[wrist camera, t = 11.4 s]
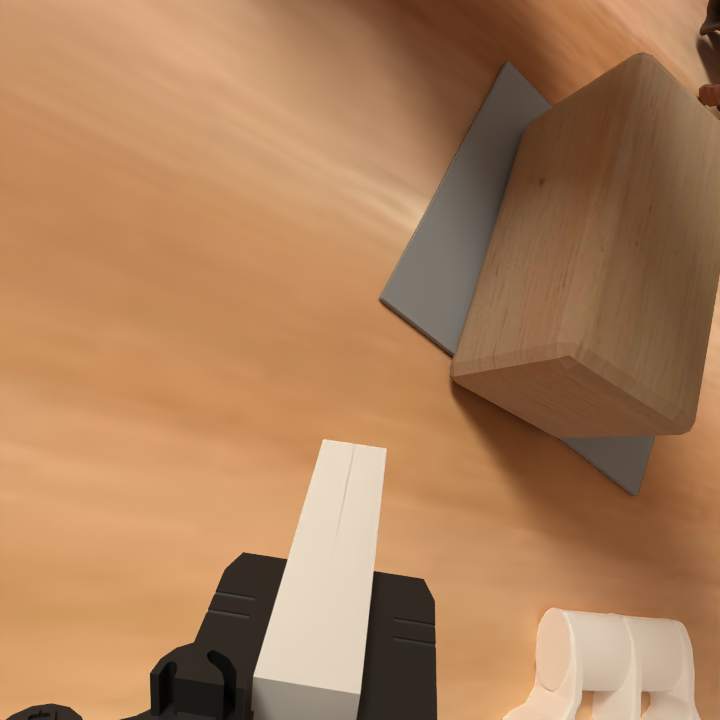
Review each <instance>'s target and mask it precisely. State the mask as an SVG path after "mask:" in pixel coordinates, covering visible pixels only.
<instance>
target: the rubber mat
mask: <svg viewBox="0 0 720 720" xmlns="http://www.w3.org/2000/svg"><path fill="white" fill-rule="evenodd" d="M550 108H552V106H551V105H550V104H549V103H548V102H547V101H546V99H545V98H544V97H543V96H542V95H541V94H540V93H539V92H538V91H537V90H536V89H535V88H534V87H533V86H532V85H531V84H530V83H529V82H528V81H527V80H526V79H525V78H524V76H523V75H522V74H521V73H520V72H519V71H518V70H517V69H516V68H515V67H514V66H513V65H512V64H511V63H510V62H509V61H507V62H506V63H505V64H504V66H503V67H502V69H501V71H500V73H499V75H498V77H497V79H496V81H495V82H494V84H493V86H492V88H491V90H490V92H489V94H488V96H487V97H486V99H485V101H484V103H483V105H482V107H481V109H480V111H479V112H478V114H477V116H476V118H475V120H474V122H473V124H472V126H471V127H470V129H469V131H468V133H467V135H466V137H465V139H464V140H463V142H462V144H461V146H460V148H459V150H458V152H457V154H456V155H455V157H454V159H453V161H452V163H451V165H450V167H449V169H448V170H447V172H446V174H445V176H444V178H443V180H442V182H441V184H440V185H439V187H438V189H437V191H436V193H435V195H434V197H433V199H432V200H431V202H430V204H429V206H428V208H427V210H426V212H425V214H424V215H423V217H422V219H421V221H420V223H419V225H418V227H417V229H416V230H415V232H414V234H413V236H412V238H411V240H410V242H409V244H408V245H407V247H406V249H405V251H404V253H403V255H402V257H401V259H400V260H399V262H398V264H397V266H396V268H395V270H394V272H393V274H392V275H391V277H390V279H389V281H388V283H387V285H386V287H385V289H384V290H383V292H382V294H381V296H380V298H379V300H380V301H382V302H383V303H384V304H385V305H387V306H388V307H389V308H391V309H392V310H393V311H394V312H396V313H397V314H398V315H400V316H401V317H402V318H403V319H405V320H406V321H407V322H409V323H410V324H411V325H413V326H414V327H415V328H416V329H418V330H419V331H420V332H422V333H423V334H424V335H425V336H427V337H428V338H429V339H431V340H432V341H433V342H434V343H436V344H437V345H438V346H440V347H441V348H442V349H444V350H445V351H446V352H447V353H449V354H450V355H451V356H453V357H454V354H455V350H456V347H457V344H458V341H459V337H460V334H461V331H462V328H463V324H464V321H465V318H466V315H467V312H468V308H469V305H470V302H471V299H472V295H473V292H474V289H475V286H476V282H477V279H478V276H479V273H480V270H481V266H482V263H483V260H484V257H485V253H486V250H487V247H488V244H489V240H490V237H491V234H492V231H493V228H494V224H495V221H496V218H497V215H498V211H499V208H500V205H501V202H502V198H503V195H504V192H505V189H506V186H507V182H508V179H509V176H510V173H511V169H512V166H513V163H514V160H515V156H516V153H517V150H518V147H519V144H520V140H521V137H522V134H523V132H524V130H525V128H526V127H527V125H528V124H529V123H530V122H531V121H532V120H533V119H535V118H536V117H538V116H539V115H541V114H542V113H544V112H546V111H547V110H549V109H550ZM654 438H655V435H651V436H617V437H584V438H558V439H560V440H561V441H562V442H564V443H565V444H566V445H567V446H569V447H570V448H571V449H573V450H574V451H575V452H577V453H578V454H579V455H580V456H582V457H583V458H584V459H586V460H587V461H588V462H589V463H591V464H592V465H593V466H595V467H596V468H597V469H598V470H600V471H601V472H602V473H604V474H605V475H606V476H608V477H609V478H610V479H611V480H613V481H614V482H615V483H617V484H618V485H619V486H620V487H622V488H623V489H624V490H626V491H627V492H628V493H629V494H631V495H632V496H637V495H638V492H639V489H640V485H641V482H642V479H643V475H644V472H645V468H646V465H647V462H648V458H649V455H650V452H651V448H652V445H653V442H654Z"/></svg>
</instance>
